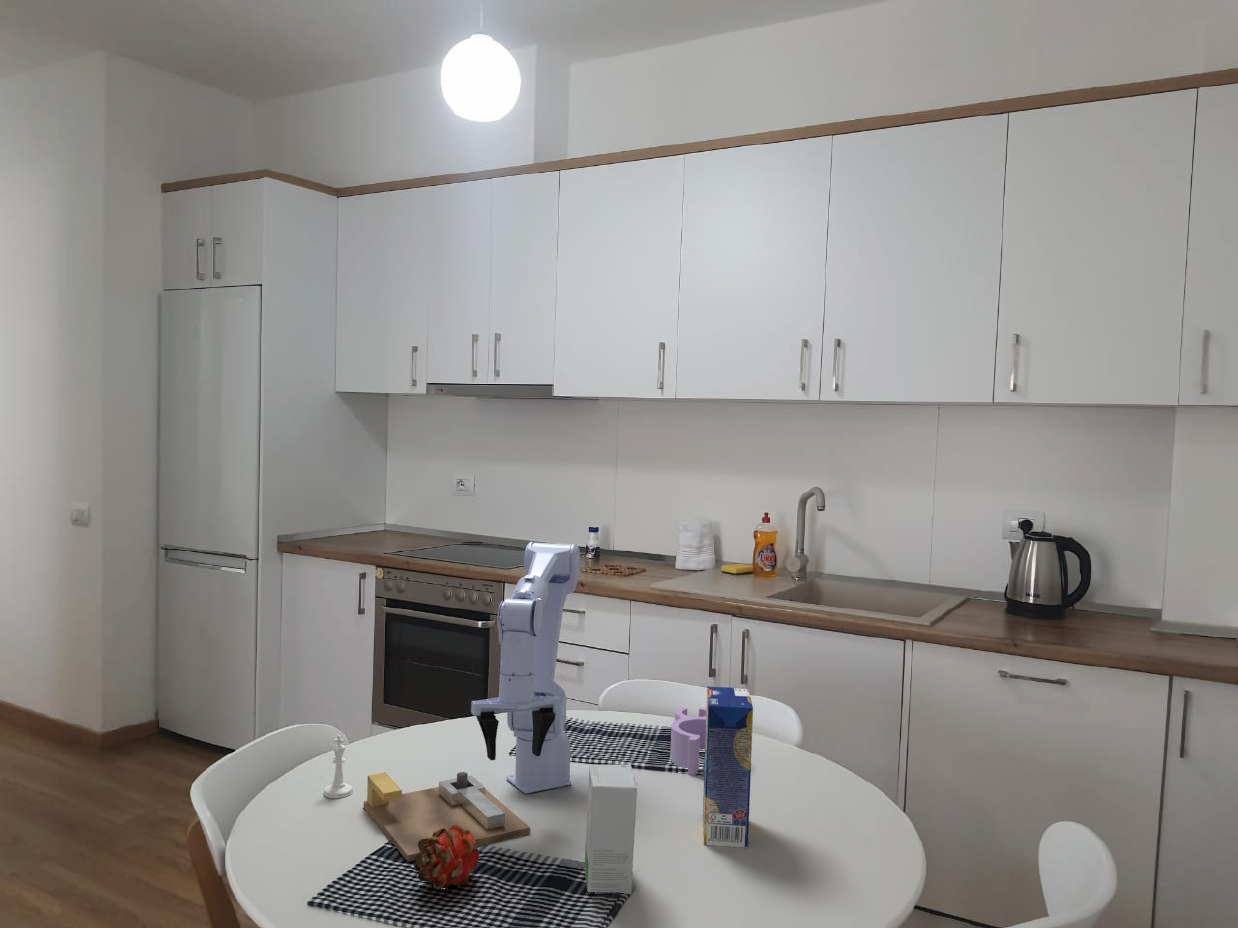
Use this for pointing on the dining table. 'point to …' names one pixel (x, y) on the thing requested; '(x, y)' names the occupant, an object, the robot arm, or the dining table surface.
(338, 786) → the chess piece
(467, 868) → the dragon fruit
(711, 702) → the beverage box
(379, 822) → the board
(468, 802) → the link
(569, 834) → the dining table surface
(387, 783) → the block
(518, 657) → the robot arm
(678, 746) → the clip
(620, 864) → the skincare box
